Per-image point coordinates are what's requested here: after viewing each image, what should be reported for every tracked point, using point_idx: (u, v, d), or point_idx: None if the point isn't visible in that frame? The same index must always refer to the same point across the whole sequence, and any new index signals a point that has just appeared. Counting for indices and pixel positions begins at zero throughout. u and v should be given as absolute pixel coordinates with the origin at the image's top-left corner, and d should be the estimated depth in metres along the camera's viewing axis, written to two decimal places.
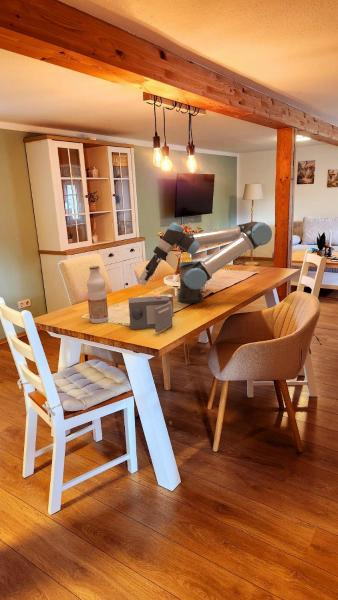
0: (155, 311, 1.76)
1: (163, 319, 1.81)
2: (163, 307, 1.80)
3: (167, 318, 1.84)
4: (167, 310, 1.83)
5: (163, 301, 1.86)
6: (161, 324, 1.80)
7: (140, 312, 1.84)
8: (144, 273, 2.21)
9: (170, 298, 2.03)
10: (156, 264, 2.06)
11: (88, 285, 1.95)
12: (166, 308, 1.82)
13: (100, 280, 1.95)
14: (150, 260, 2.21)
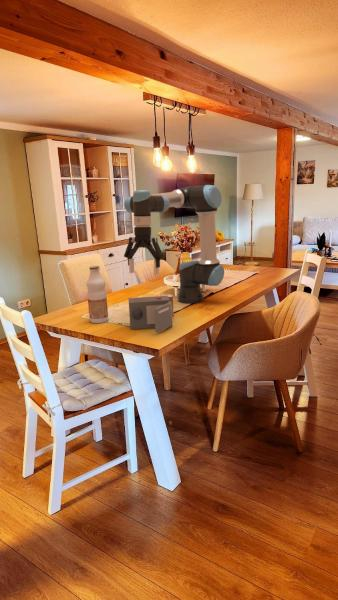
0: (155, 311, 1.76)
1: (163, 319, 1.81)
2: (163, 307, 1.80)
3: (167, 318, 1.84)
4: (167, 310, 1.83)
5: (163, 301, 1.86)
6: (161, 324, 1.80)
7: (140, 312, 1.84)
8: (131, 263, 1.83)
9: (170, 298, 2.03)
10: (157, 244, 1.75)
11: (88, 285, 1.95)
12: (166, 308, 1.82)
13: (100, 280, 1.95)
14: (127, 246, 1.81)
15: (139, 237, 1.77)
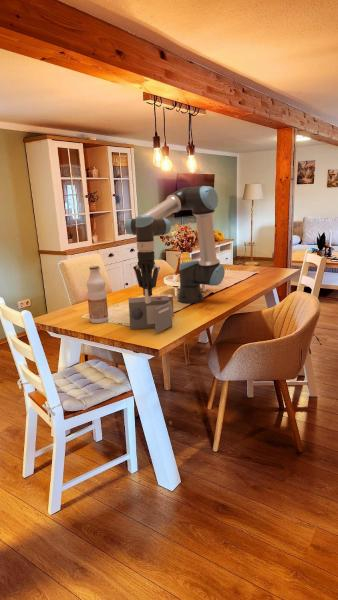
0: (155, 311, 1.76)
1: (163, 319, 1.81)
2: (163, 307, 1.80)
3: (167, 318, 1.84)
4: (167, 310, 1.83)
5: (163, 301, 1.86)
6: (161, 324, 1.80)
7: (140, 312, 1.84)
8: None
9: (170, 298, 2.03)
10: (156, 274, 1.76)
11: (88, 285, 1.95)
12: (166, 308, 1.82)
13: (100, 280, 1.95)
14: (137, 275, 1.80)
15: None
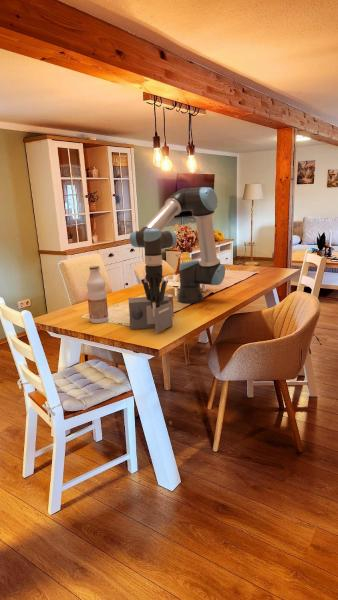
0: (155, 311, 1.76)
1: (163, 319, 1.81)
2: (163, 307, 1.80)
3: (167, 318, 1.84)
4: (167, 310, 1.83)
5: (163, 301, 1.86)
6: (161, 324, 1.80)
7: (140, 312, 1.84)
8: None
9: (170, 298, 2.03)
10: (164, 287, 1.76)
11: (88, 285, 1.95)
12: (166, 308, 1.82)
13: (100, 280, 1.95)
14: (145, 289, 1.80)
15: None
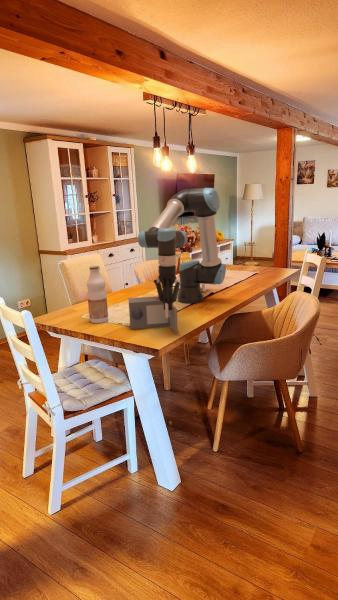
0: (175, 311, 1.74)
1: None
2: None
3: None
4: None
5: None
6: None
7: (140, 312, 1.84)
8: None
9: None
10: (177, 288, 1.73)
11: (88, 285, 1.95)
12: None
13: (100, 280, 1.95)
14: (157, 289, 1.76)
15: None
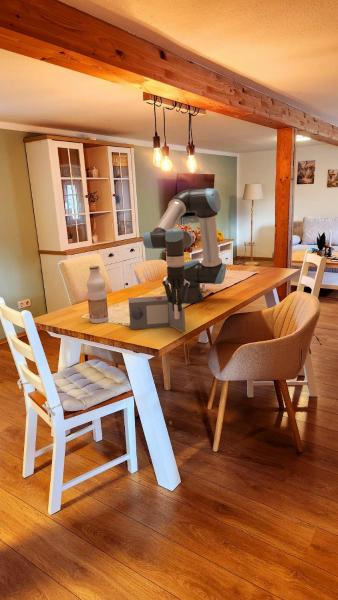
0: (183, 310, 1.75)
1: None
2: None
3: None
4: None
5: (163, 301, 1.86)
6: None
7: (140, 312, 1.84)
8: None
9: None
10: (187, 289, 1.71)
11: (88, 285, 1.95)
12: None
13: (100, 280, 1.95)
14: (166, 291, 1.74)
15: None
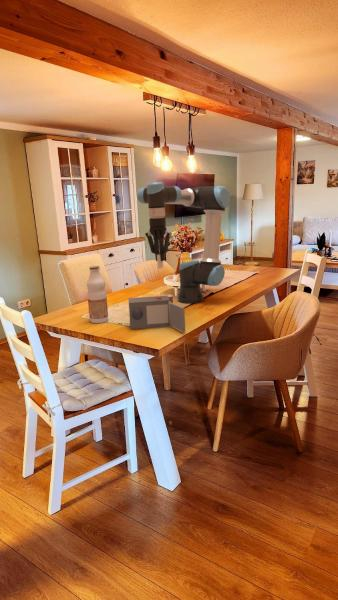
0: (183, 310, 1.76)
1: None
2: None
3: None
4: None
5: (163, 301, 1.86)
6: None
7: (140, 312, 1.84)
8: None
9: (170, 298, 2.03)
10: (168, 239, 1.84)
11: (88, 285, 1.95)
12: None
13: (100, 280, 1.95)
14: (149, 242, 1.87)
15: None
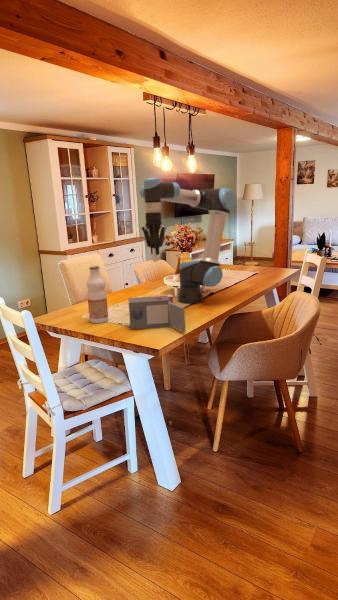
0: (183, 310, 1.76)
1: None
2: None
3: None
4: None
5: (163, 301, 1.86)
6: None
7: (140, 312, 1.84)
8: None
9: (170, 298, 2.03)
10: (163, 233, 1.89)
11: (88, 285, 1.95)
12: None
13: (100, 280, 1.95)
14: (145, 236, 1.93)
15: None
